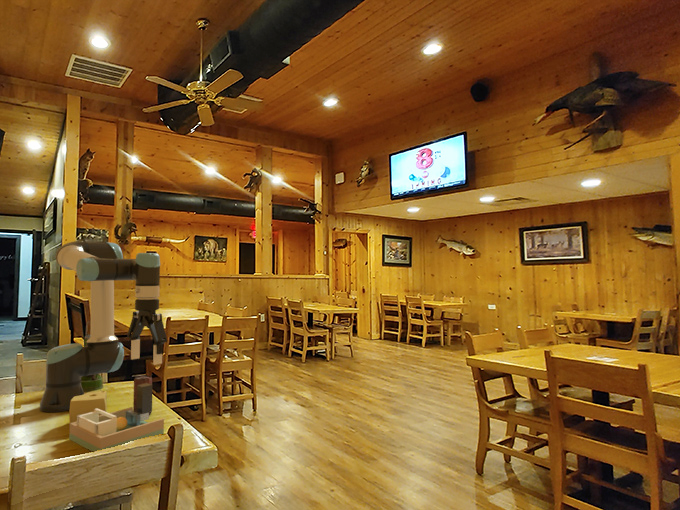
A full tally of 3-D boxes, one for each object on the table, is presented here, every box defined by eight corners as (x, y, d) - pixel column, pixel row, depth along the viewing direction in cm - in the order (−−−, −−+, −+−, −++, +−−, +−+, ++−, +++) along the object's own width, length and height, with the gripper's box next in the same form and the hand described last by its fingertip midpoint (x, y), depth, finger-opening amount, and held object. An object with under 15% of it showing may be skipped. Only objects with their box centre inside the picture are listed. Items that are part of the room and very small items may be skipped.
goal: (76, 435, 137) (77, 413, 137) (96, 429, 142) (97, 408, 142) (95, 445, 130) (96, 421, 130) (116, 438, 135) (116, 416, 135)
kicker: (125, 423, 147) (126, 386, 147) (143, 417, 152) (143, 382, 152) (136, 427, 143) (137, 389, 143) (154, 422, 148) (155, 385, 148)
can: (145, 418, 158) (145, 379, 158) (129, 417, 159) (130, 378, 160) (155, 413, 164) (156, 375, 164) (140, 412, 165) (141, 374, 165)
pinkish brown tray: (69, 439, 139) (69, 423, 139) (131, 421, 155) (131, 407, 155) (100, 455, 127) (100, 438, 127) (163, 434, 143) (163, 419, 143)
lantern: (109, 388, 196) (111, 320, 197) (84, 393, 188) (86, 323, 189) (94, 383, 205) (95, 318, 205) (69, 388, 196) (71, 320, 197)
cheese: (73, 421, 155) (74, 393, 155) (108, 417, 159) (108, 389, 159) (68, 431, 145) (69, 401, 145) (105, 427, 149) (105, 397, 150)
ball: (111, 430, 141) (111, 417, 141) (123, 426, 145) (123, 414, 145) (117, 433, 139) (117, 420, 139) (129, 429, 142) (130, 416, 142)
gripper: (117, 297, 154) (116, 358, 153) (158, 300, 139) (157, 368, 139) (137, 296, 160) (136, 354, 159) (179, 299, 145) (178, 364, 145)
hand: (146, 361), depth 149 cm, fingers open, 13 cm apart
